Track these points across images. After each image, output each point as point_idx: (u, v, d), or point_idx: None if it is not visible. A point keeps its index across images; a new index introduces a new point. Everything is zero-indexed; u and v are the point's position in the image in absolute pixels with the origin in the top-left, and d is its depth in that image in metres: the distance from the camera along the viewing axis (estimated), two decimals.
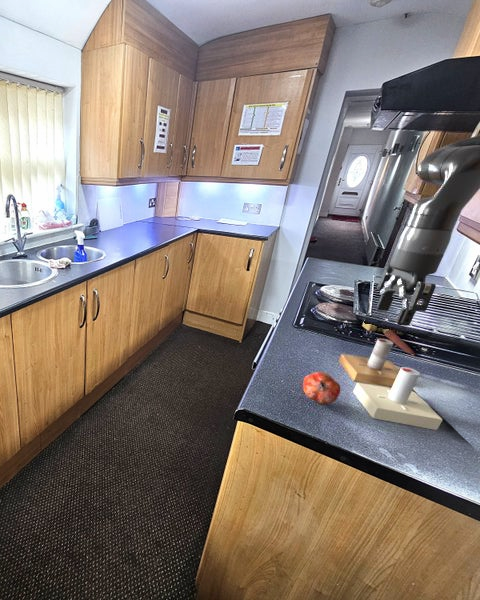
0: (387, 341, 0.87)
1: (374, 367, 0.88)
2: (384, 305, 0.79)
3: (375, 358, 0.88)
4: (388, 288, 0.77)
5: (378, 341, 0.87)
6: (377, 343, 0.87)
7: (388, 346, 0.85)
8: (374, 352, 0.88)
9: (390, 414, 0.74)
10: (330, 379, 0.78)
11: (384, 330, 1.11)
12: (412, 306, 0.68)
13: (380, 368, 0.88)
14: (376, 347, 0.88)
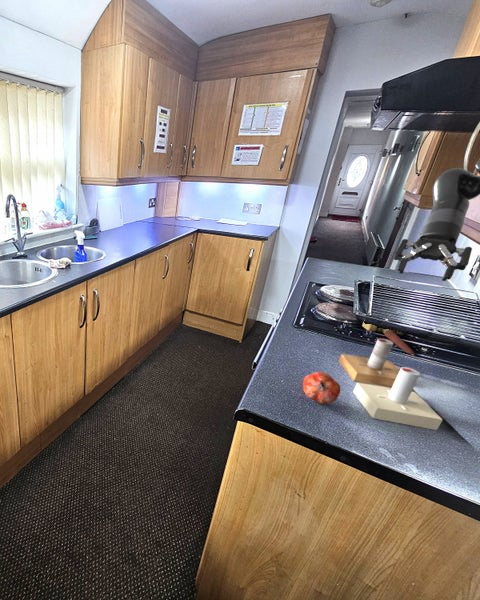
0: (387, 341, 0.87)
1: (374, 367, 0.88)
2: (444, 275, 0.87)
3: (375, 358, 0.88)
4: (442, 262, 0.90)
5: (378, 341, 0.87)
6: (377, 343, 0.87)
7: (388, 346, 0.85)
8: (374, 352, 0.88)
9: (390, 414, 0.74)
10: (330, 379, 0.78)
11: (384, 330, 1.11)
12: None
13: (380, 368, 0.88)
14: (376, 347, 0.88)
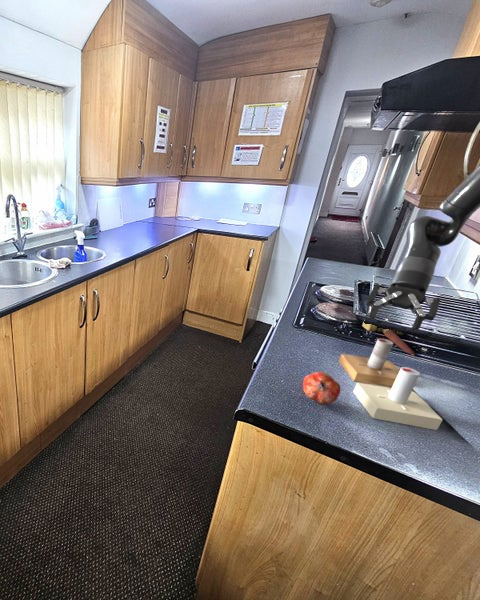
0: (387, 341, 0.87)
1: (374, 367, 0.88)
2: (413, 325, 0.88)
3: (375, 358, 0.88)
4: (412, 311, 0.90)
5: (378, 341, 0.87)
6: (377, 343, 0.87)
7: (388, 346, 0.85)
8: (374, 352, 0.88)
9: (390, 414, 0.74)
10: (330, 379, 0.78)
11: (384, 330, 1.11)
12: None
13: (380, 368, 0.88)
14: (376, 347, 0.88)
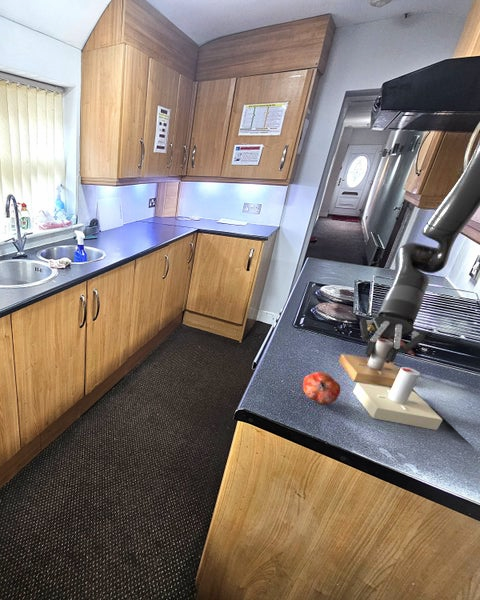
0: (387, 341, 0.87)
1: (374, 367, 0.88)
2: (387, 357, 0.86)
3: (375, 358, 0.88)
4: (392, 341, 0.88)
5: (378, 341, 0.87)
6: (377, 343, 0.87)
7: (388, 346, 0.85)
8: (374, 352, 0.88)
9: (390, 414, 0.74)
10: (330, 379, 0.78)
11: None
12: None
13: (380, 368, 0.88)
14: (376, 347, 0.88)
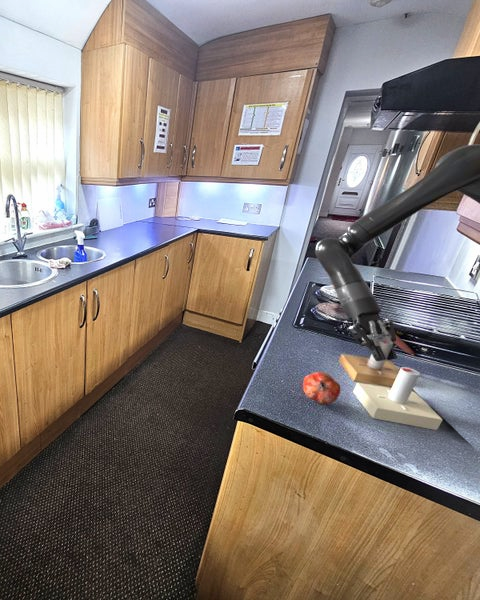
0: (385, 340, 0.87)
1: (381, 368, 0.88)
2: (389, 354, 0.87)
3: (383, 360, 0.87)
4: None
5: (384, 344, 0.86)
6: (383, 346, 0.86)
7: (392, 345, 0.86)
8: None
9: (390, 414, 0.74)
10: (330, 379, 0.78)
11: None
12: None
13: None
14: (382, 350, 0.86)
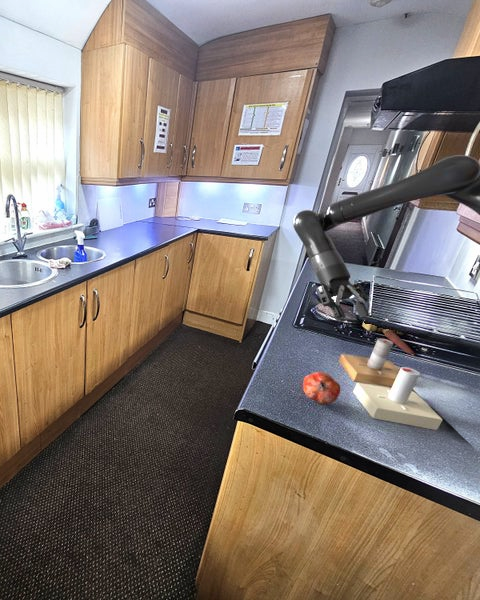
0: (385, 340, 0.87)
1: (381, 368, 0.88)
2: (361, 312, 0.96)
3: (383, 360, 0.87)
4: (348, 299, 0.98)
5: (384, 344, 0.86)
6: (383, 346, 0.86)
7: (392, 345, 0.86)
8: (381, 355, 0.87)
9: (390, 414, 0.74)
10: (330, 379, 0.78)
11: (384, 330, 1.11)
12: None
13: None
14: (383, 350, 0.86)
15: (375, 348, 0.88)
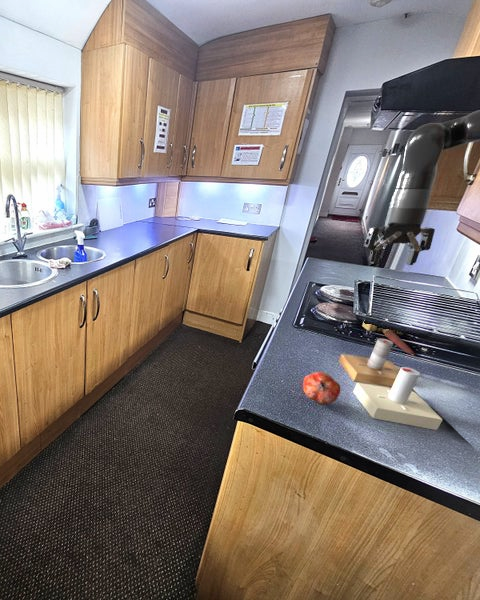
0: (385, 340, 0.87)
1: (381, 368, 0.88)
2: (408, 259, 0.93)
3: (383, 360, 0.87)
4: (406, 242, 0.93)
5: (384, 344, 0.86)
6: (383, 346, 0.86)
7: (392, 345, 0.86)
8: (381, 355, 0.87)
9: (390, 414, 0.74)
10: (330, 379, 0.78)
11: (384, 330, 1.11)
12: None
13: None
14: (383, 350, 0.86)
15: (375, 348, 0.88)
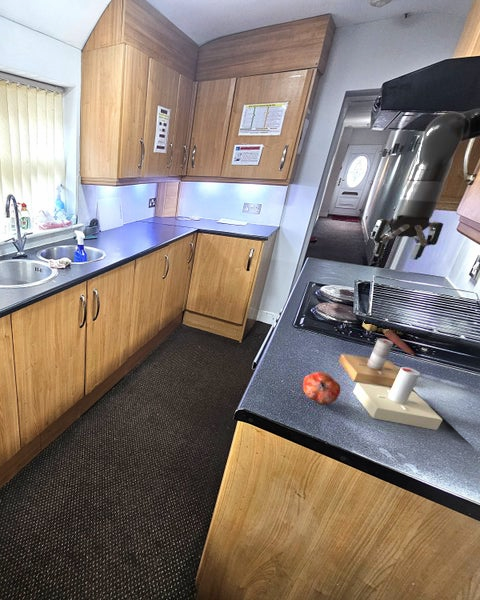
0: (385, 340, 0.87)
1: (381, 368, 0.88)
2: (413, 254, 0.92)
3: (383, 360, 0.87)
4: (413, 236, 0.91)
5: (384, 344, 0.86)
6: (383, 346, 0.86)
7: (392, 345, 0.86)
8: (381, 355, 0.87)
9: (390, 414, 0.74)
10: (330, 379, 0.78)
11: (384, 330, 1.11)
12: None
13: None
14: (383, 350, 0.86)
15: (375, 348, 0.88)
